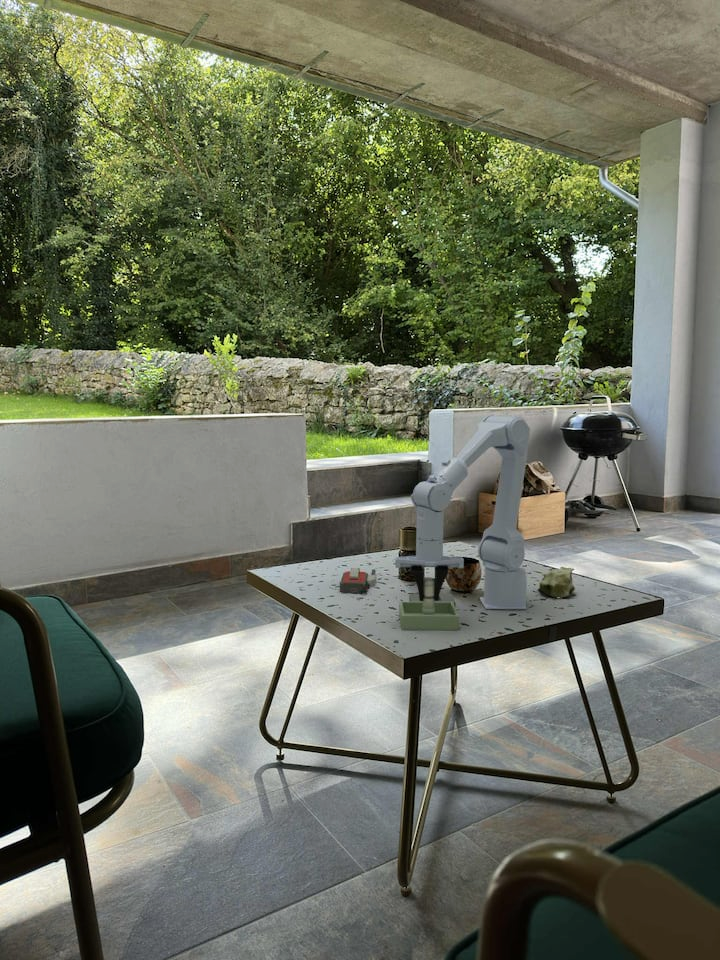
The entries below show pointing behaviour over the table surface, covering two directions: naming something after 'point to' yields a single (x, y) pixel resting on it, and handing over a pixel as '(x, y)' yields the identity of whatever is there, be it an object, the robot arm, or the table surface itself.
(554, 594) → the green rock
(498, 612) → the table surface
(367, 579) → the red belt-clip case
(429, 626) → the parts tray
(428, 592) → the cylinder
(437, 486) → the robot arm
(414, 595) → the fuse block
